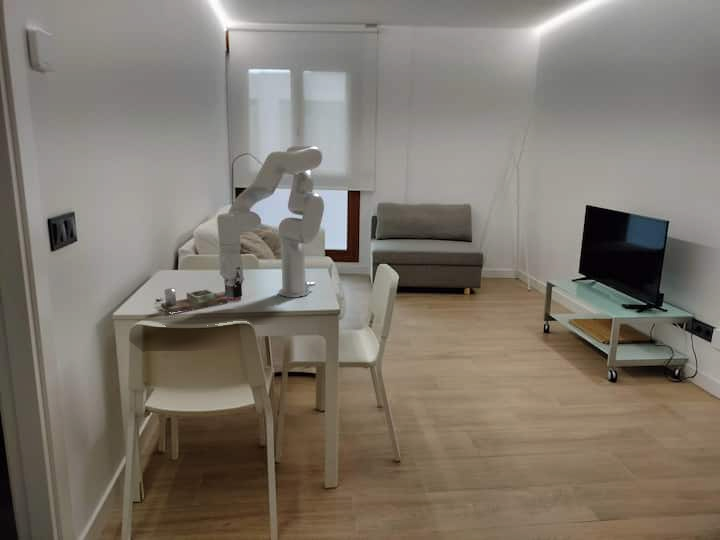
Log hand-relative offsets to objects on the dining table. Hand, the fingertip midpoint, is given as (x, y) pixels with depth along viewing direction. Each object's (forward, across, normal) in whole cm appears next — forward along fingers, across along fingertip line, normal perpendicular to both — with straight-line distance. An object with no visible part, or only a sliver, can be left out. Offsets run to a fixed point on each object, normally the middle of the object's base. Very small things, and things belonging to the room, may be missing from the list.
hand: (233, 294), depth 199 cm
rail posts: (+3, -13, -7) cm, 15 cm away
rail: (+5, -13, -7) cm, 16 cm away
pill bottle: (+3, 0, 0) cm, 3 cm away
